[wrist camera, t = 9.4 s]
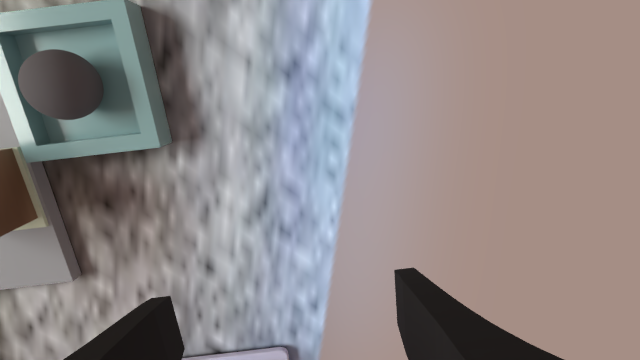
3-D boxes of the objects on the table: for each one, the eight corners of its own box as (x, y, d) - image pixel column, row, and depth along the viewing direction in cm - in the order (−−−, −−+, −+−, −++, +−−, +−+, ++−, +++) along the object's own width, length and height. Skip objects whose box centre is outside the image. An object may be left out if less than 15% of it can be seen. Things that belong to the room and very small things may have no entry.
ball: (124, 112, 18) (85, 119, 15) (64, 119, 18) (13, 127, 15) (106, 49, 17) (62, 41, 14) (43, 56, 17) (-15, 50, 14)
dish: (172, 142, 19) (160, 147, 17) (49, 156, 19) (26, 163, 17) (140, 5, 17) (123, -2, 16) (2, 21, 17) (-28, 15, 16)
